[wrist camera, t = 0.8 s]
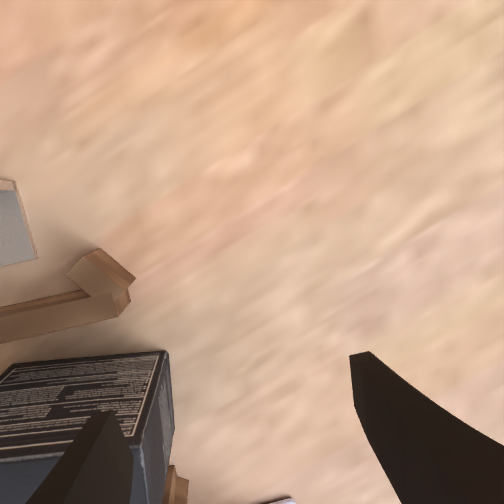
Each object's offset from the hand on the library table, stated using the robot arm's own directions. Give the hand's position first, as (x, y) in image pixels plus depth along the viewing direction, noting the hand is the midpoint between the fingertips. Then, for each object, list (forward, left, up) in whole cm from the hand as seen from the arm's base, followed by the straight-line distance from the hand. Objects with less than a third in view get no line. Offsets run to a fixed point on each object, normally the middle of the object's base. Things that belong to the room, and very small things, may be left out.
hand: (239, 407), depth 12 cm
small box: (-6, +10, -15) cm, 19 cm away
